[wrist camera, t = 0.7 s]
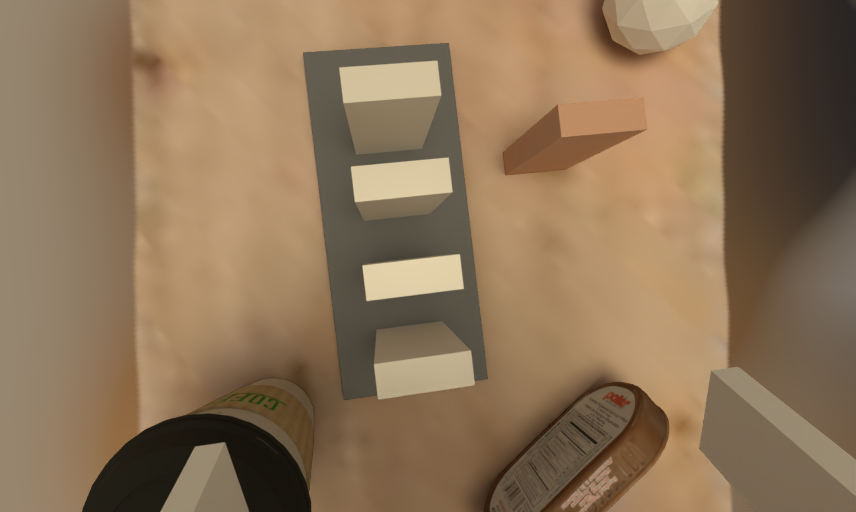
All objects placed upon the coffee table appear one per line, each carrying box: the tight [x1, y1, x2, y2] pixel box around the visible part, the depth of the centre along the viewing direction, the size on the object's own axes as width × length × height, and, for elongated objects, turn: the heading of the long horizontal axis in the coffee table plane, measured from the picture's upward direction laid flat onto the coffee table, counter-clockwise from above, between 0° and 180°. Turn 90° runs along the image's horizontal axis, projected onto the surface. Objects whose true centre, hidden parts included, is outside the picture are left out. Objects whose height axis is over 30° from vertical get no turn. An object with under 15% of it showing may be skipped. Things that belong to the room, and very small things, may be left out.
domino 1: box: [339, 61, 441, 155], centre depth 28 cm, size 2×5×11 cm, turn 97°
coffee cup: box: [82, 378, 314, 512], centre depth 26 cm, size 10×10×15 cm
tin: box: [484, 382, 669, 512], centre depth 31 cm, size 15×3×8 cm, turn 131°
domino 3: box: [362, 254, 464, 301], centre depth 28 cm, size 2×5×11 cm, turn 96°
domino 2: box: [351, 157, 453, 221], centre depth 28 cm, size 2×5×11 cm, turn 97°
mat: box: [303, 43, 488, 400], centre depth 34 cm, size 26×11×1 cm, turn 7°
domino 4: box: [374, 321, 475, 400], centre depth 28 cm, size 2×5×11 cm, turn 97°
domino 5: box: [503, 98, 647, 175], centre depth 30 cm, size 2×5×11 cm, turn 97°
